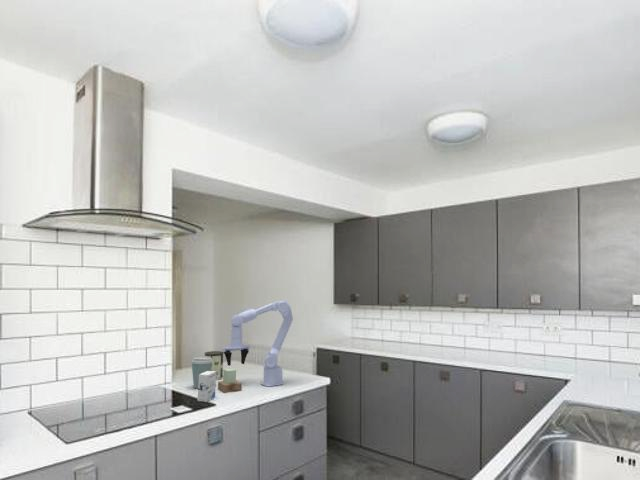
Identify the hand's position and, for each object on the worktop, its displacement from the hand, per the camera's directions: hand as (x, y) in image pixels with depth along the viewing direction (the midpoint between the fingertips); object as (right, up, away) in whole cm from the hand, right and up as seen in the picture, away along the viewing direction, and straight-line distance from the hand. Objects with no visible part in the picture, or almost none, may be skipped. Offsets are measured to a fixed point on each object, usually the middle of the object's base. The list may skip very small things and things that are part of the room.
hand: (235, 364), depth 222 cm
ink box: (-8, -8, -28) cm, 30 cm away
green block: (-1, -6, -11) cm, 12 cm away
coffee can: (-15, -12, +15) cm, 24 cm away
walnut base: (-1, -10, -11) cm, 15 cm away
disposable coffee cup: (-16, -10, -7) cm, 20 cm away
